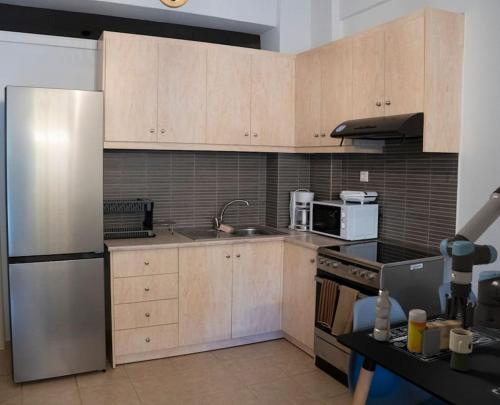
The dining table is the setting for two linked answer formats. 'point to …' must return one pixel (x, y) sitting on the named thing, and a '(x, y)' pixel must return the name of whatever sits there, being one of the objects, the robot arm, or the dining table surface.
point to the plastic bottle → (382, 316)
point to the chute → (430, 342)
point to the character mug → (460, 348)
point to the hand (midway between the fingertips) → (457, 340)
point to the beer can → (416, 330)
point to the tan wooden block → (445, 330)
